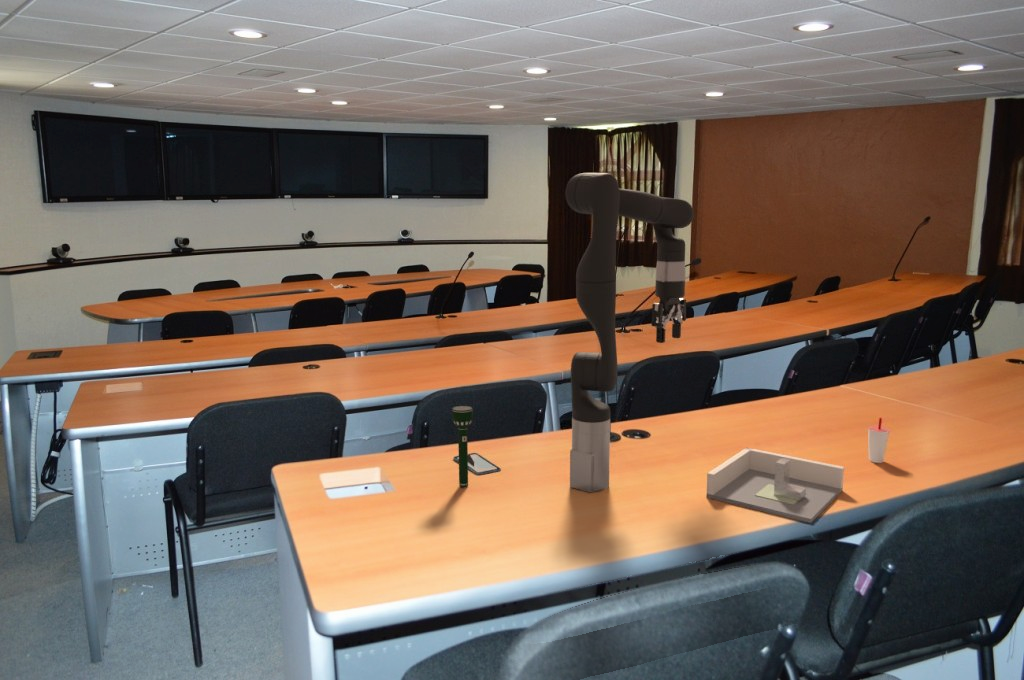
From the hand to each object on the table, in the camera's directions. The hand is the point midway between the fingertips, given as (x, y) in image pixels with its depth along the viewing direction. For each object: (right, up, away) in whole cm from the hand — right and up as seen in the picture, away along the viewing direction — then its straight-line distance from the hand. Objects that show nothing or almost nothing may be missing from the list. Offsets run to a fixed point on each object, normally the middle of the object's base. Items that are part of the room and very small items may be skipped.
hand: (668, 340), depth 197 cm
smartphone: (-51, -34, +3) cm, 61 cm away
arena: (+22, -37, -18) cm, 46 cm away
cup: (+57, -33, +5) cm, 66 cm away
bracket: (+24, -36, -22) cm, 49 cm away
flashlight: (-53, -36, -12) cm, 65 cm away
